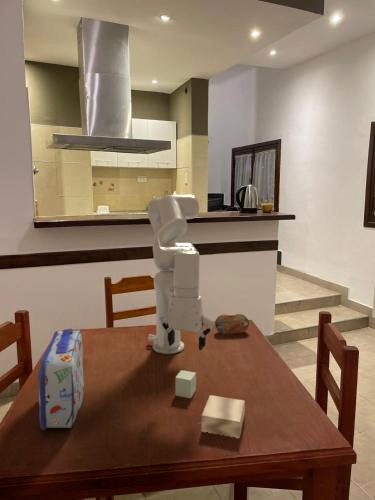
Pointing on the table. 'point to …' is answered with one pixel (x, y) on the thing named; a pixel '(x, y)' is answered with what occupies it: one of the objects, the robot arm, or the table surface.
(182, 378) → the sage block
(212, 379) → the table surface
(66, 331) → the lunch box
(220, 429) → the maple block
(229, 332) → the tin
